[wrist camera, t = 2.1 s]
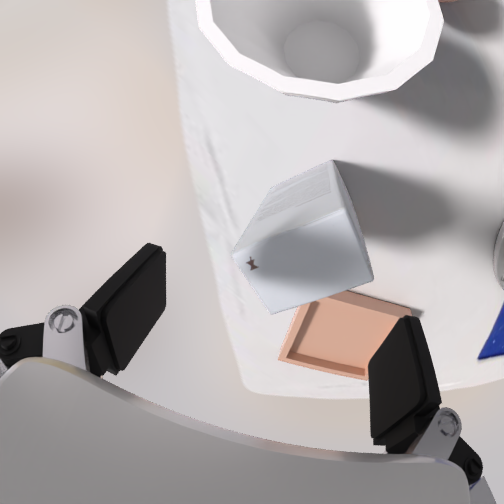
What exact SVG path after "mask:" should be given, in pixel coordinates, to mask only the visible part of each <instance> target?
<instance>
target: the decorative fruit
mask: <svg viewBox="0 0 504 504" xmlns="http://www.w3.org/2000/svg"><path fill="white" fill-rule="evenodd" d="M453 1H457V0H438V2H453Z"/></svg>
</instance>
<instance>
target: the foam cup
mask: <svg viewBox="0 0 504 504" xmlns="http://www.w3.org/2000/svg"><path fill="white" fill-rule="evenodd" d="M195 3H196V10H197V18H198V25H199V29H200V30H201V32H202V33H203V34H204V35H205V36H206V38H207V39H208V40H209V41H210V42H211V44H212V45H213V46H214V47H215V49H216V50H217V51H218V52H219V54H220V55H221V56H222V57H223V59H224V60H225V61H226V63H227V64H228V65H229V66H231V67H233V68H235V69H238V70H240V71H242V72H244V73H246V74H248V75H250V76H251V77H253V78H255V79H257V80H259V81H261V82H263V83H265V84H266V85H268V86H270V87H272V88H274V89H275V90H277V91H279V92H281V93H283V94H285V95H287V96H295V97H302V98H309V99H316V100H322V101H327V102H333V103H339V102H344V101H348V100H353V99H357V98H362V97H367V96H372V95H377V94H382V93H386V92H389V91H393V90H396V89H397V88H399V87H400V86H401V85H402V84H404V83H405V82H406V81H407V80H409V79H410V78H411V77H412V76H414V75H415V74H416V73H417V72H419V71H420V70H421V69H422V68H424V67H425V66H426V65H428V64H429V63H430V62H431V61H433V58H434V55H435V51H436V48H437V45H438V41H439V38H440V34H441V30H442V26H443V22H444V19H443V15H442V12H441V9H440V5H439V2H438V0H195Z"/></svg>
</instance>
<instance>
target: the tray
mask: <svg viewBox="0 0 504 504" xmlns="http://www.w3.org/2000/svg"><path fill="white" fill-rule="evenodd" d="M405 315H409V316H412V313H411V310H410V308H406V307H403V306H399V305H396V304H392V303H388V302H385V301H381V300H378V299H374V298H371V297H367V296H364V295H360V294H357V293H353V292H350V291H343V292H340V293H337V294H334V295H331V296H328V297H325V298H322V299H319V300H316V301H313V302H310V303H307V304H304V305H301V306H298V307H297V309H296V312H295V314H294V317H293V319H292V322H291V324H290V327H289V329H288V332H287V334H286V336H285V339H284V341H283V343H282V346H281V348H280V353H279V357H278V360H280V361H284V362H287V363H291V364H295V365H299V366H303V367H307V368H311V369H315V370H319V371H323V372H328V373H332V374H337V375H341V376H346V377H351V378H356V379H361V380H366V381H367V380H368V379H369V377H368V363H369V361H370V359H371V358H372V356H373V355H374V354H375V352H376V351H377V350H378V348H379V347H380V345H381V344H382V343H383V341H384V340H385V338H386V337H387V336H388V334H389V333H390V331H391V330H392V328H393V327H394V325H395V324H396V322H397V321H398V319H399V318H403V316H405Z"/></svg>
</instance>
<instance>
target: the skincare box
mask: <svg viewBox="0 0 504 504" xmlns="http://www.w3.org/2000/svg"><path fill="white" fill-rule="evenodd" d="M231 257H232V259H233V260H234V262H235V263H236V264H237V266H238V267H239V269H240V270H241V272H242V273H243V275H244V276H245V278H246V279H247V281H248V282H249V284H250V285H251V287H252V288H253V290H254V291H255V293H256V294H257V296H258V297H259V299H260V300H261V302H262V303H263V305H264V306H265V308H266V309H267V310H268V312H269V313H270V314H275V313H278V312H282V311H285V310H288V309H291V308H295V307H298V306H301V305H304V304H307V303H310V302H313V301H316V300H319V299H322V298H325V297H328V296H331V295H334V294H337V293H340V292H343V291H346V290H349V289H351V288H354V287H357V286H360V285H363V284H366V283H369V282H372V281H373V280H374V275H373V271H372V267H371V263H370V260H369V256H368V252H367V249H366V245H365V242H364V238H363V235H362V231H361V228H360V225H359V222H358V218H357V215H356V212H355V209H354V206H353V203H352V200H351V198H350V195H349V193H348V191H347V188H346V186H345V184H344V182H343V179H342V177H341V175H340V173H339V171H338V169H337V167H336V164H335V163H334V161H333V160H329V161H327V162H325V163H323V164H320V165H318V166H316V167H314V168H312V169H310V170H307V171H305V172H303V173H301V174H299V175H297V176H294V177H292V178H290V179H288V180H286V181H284V182H282V183H280V184H278V185H276V186H273V187H272V188H271V189H270V191H269V192H268V194H267V195H266V197H265V199H264V200H263V202H262V204H261V205H260V207H259V208H258V210H257V212H256V213H255V215H254V217H253V218H252V220H251V221H250V223H249V225H248V226H247V228H246V230H245V231H244V233H243V234H242V236H241V238H240V239H239V241H238V243H237V244H236V246H235V248H234V249H233V251H232V253H231Z"/></svg>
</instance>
